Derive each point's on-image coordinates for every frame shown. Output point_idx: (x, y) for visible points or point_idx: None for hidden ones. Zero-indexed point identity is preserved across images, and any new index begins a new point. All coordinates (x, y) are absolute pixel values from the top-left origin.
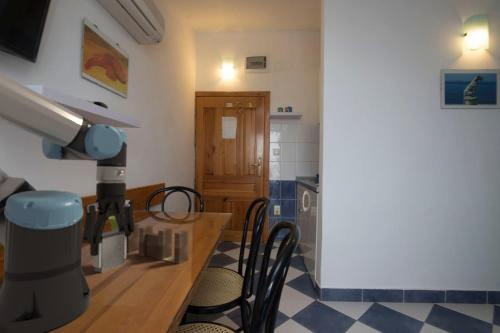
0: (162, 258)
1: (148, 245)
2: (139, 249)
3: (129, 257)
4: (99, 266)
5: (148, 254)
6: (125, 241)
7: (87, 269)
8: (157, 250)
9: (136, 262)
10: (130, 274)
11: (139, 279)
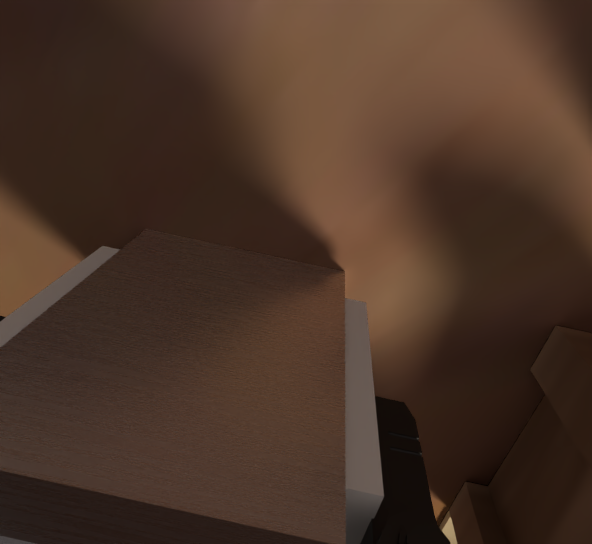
0: (451, 520)
1: (588, 479)
2: (579, 369)
3: (488, 284)
4: None
5: (545, 410)
6: None
7: (141, 144)
8: (519, 521)
9: (381, 393)
10: None
11: None
